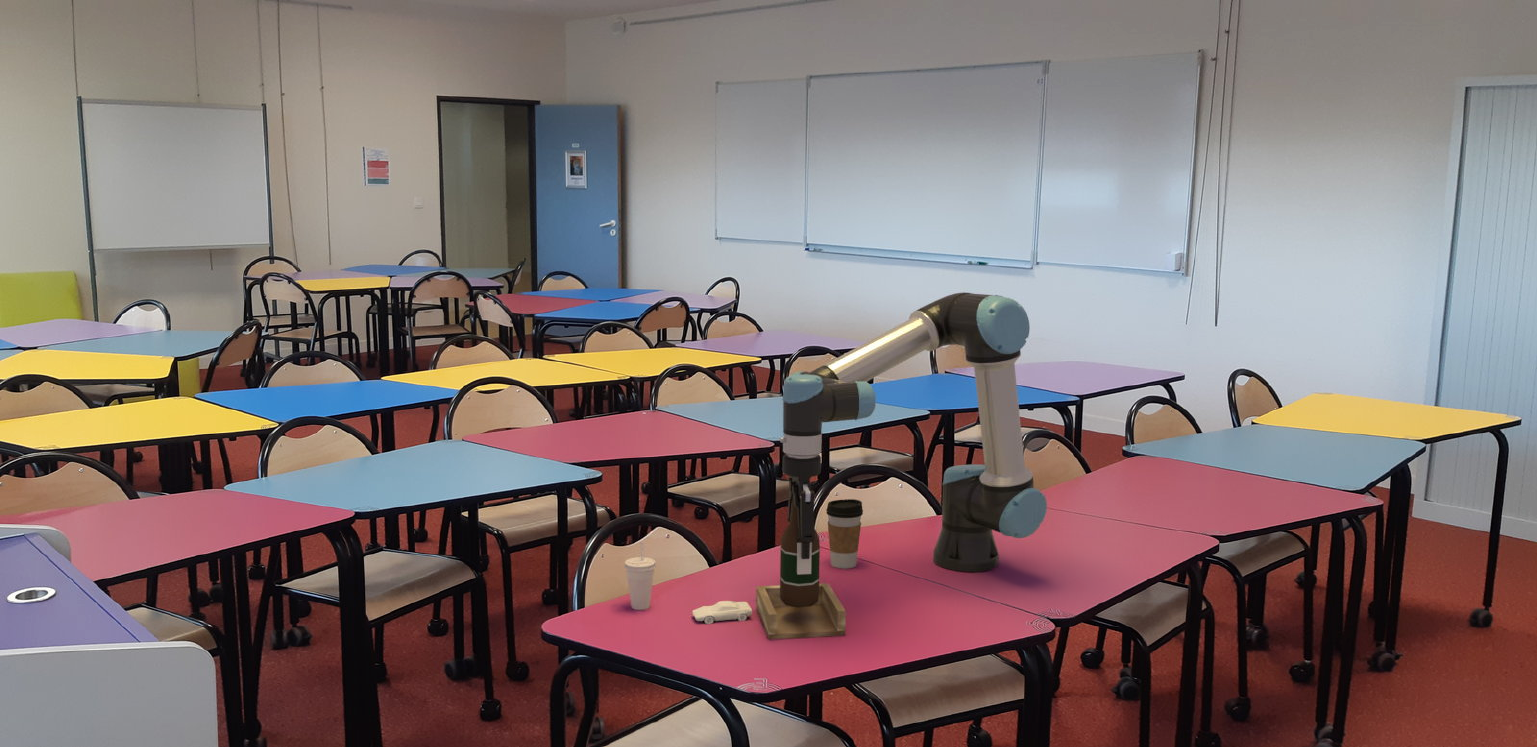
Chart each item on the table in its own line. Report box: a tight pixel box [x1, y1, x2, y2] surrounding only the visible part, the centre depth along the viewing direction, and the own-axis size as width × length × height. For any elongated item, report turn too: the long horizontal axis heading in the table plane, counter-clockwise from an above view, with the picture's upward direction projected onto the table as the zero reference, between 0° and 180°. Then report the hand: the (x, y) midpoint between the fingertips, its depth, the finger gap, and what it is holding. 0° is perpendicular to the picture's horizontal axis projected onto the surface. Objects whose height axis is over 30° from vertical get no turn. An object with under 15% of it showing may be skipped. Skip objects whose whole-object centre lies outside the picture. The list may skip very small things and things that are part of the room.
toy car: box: [691, 600, 753, 625], centre depth 221 cm, size 6×12×3 cm, turn 105°
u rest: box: [755, 582, 847, 641], centre depth 219 cm, size 15×16×5 cm
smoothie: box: [624, 539, 657, 611], centre depth 226 cm, size 6×6×14 cm
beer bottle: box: [779, 484, 821, 608], centre depth 217 cm, size 8×8×24 cm
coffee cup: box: [826, 498, 864, 570], centre depth 254 cm, size 8×8×15 cm
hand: (800, 566), depth 217 cm, fingers closed on beer bottle, 7 cm apart
